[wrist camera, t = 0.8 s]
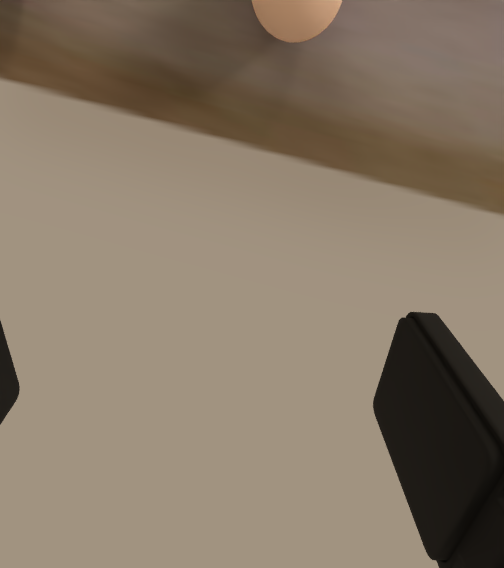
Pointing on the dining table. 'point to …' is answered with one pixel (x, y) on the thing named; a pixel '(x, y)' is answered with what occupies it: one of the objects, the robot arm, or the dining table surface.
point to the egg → (295, 17)
